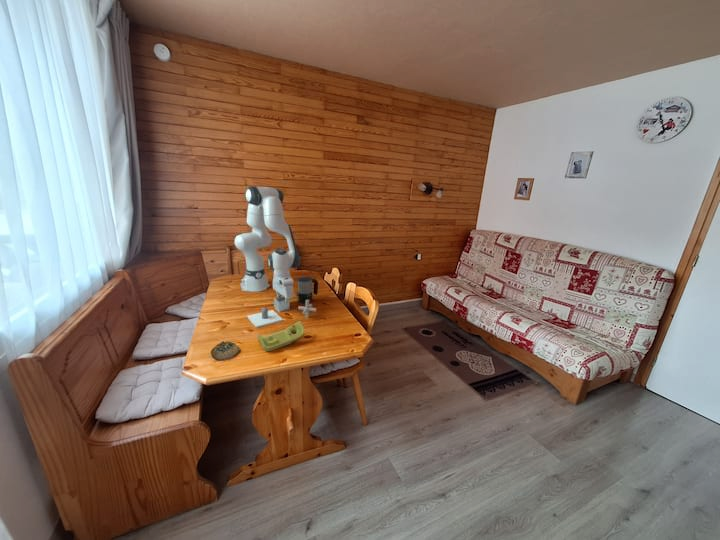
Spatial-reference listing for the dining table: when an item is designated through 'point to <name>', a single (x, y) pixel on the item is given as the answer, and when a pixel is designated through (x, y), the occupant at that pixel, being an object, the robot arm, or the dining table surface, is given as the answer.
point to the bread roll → (224, 350)
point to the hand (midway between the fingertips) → (282, 300)
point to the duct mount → (264, 318)
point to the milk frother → (306, 289)
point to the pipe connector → (307, 308)
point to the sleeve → (281, 304)
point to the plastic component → (282, 337)
